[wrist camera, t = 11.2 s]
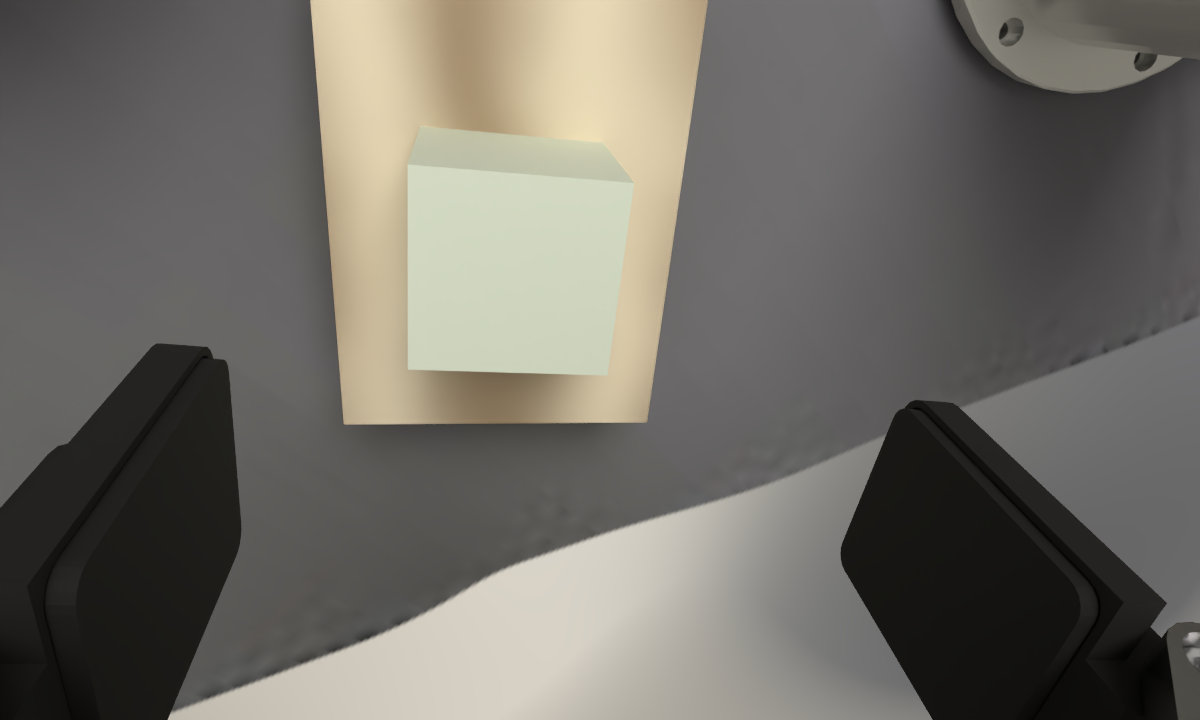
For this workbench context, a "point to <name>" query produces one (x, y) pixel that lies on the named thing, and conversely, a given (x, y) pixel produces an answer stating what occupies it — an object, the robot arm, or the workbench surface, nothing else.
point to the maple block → (509, 106)
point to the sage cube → (513, 252)
